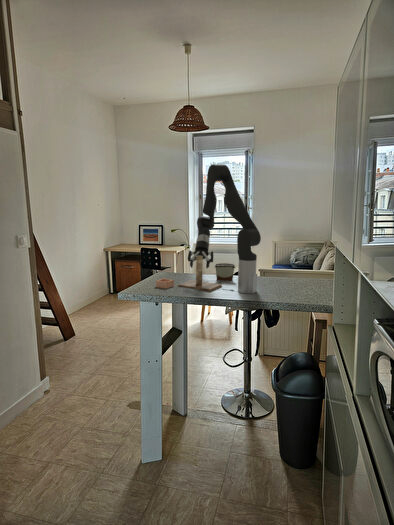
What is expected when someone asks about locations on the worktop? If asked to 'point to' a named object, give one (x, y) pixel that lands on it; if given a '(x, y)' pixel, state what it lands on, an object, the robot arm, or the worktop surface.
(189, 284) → the walnut board
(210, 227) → the robot arm
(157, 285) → the terracotta cup
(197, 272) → the birch dowel
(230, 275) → the food container
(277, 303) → the worktop surface
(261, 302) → the worktop surface
